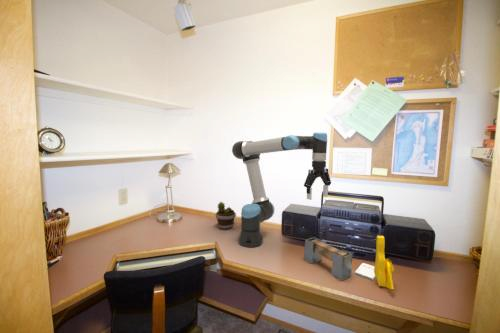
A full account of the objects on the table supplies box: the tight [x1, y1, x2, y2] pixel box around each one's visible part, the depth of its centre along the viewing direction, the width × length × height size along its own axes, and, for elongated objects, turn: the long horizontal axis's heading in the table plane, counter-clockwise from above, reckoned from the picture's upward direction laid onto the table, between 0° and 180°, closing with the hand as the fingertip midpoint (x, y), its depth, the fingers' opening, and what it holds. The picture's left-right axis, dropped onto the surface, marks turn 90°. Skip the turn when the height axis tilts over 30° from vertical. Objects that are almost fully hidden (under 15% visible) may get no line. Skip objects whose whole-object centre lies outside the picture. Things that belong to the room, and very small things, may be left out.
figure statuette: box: [374, 235, 395, 290], centre depth 105 cm, size 18×8×22 cm, turn 161°
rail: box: [311, 239, 347, 262], centre depth 118 cm, size 19×4×5 cm, turn 34°
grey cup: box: [331, 249, 354, 281], centre depth 111 cm, size 6×7×11 cm
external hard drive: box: [354, 262, 376, 282], centre depth 115 cm, size 2×8×12 cm
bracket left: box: [303, 236, 323, 265], centre depth 126 cm, size 6×7×11 cm
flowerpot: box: [215, 201, 237, 230], centre depth 171 cm, size 14×15×20 cm
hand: (317, 197), depth 133 cm, fingers open, 13 cm apart
